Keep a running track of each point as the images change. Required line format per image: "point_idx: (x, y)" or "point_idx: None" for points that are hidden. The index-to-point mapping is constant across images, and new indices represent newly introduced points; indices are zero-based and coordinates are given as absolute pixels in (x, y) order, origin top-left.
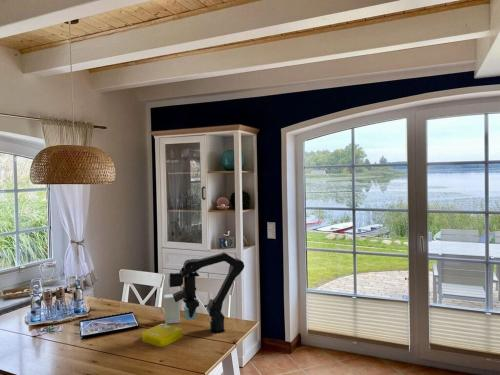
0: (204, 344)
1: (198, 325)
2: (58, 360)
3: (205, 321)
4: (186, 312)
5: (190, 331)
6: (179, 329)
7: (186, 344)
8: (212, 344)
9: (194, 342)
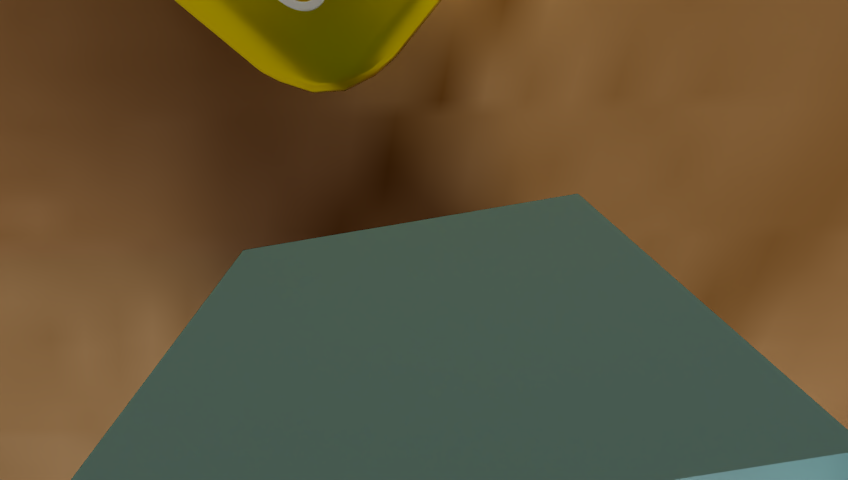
0: (42, 395)
1: None
2: None
3: (830, 406)
4: (111, 478)
5: None
6: (278, 25)
7: (16, 158)
8: (51, 476)
9: (100, 273)
